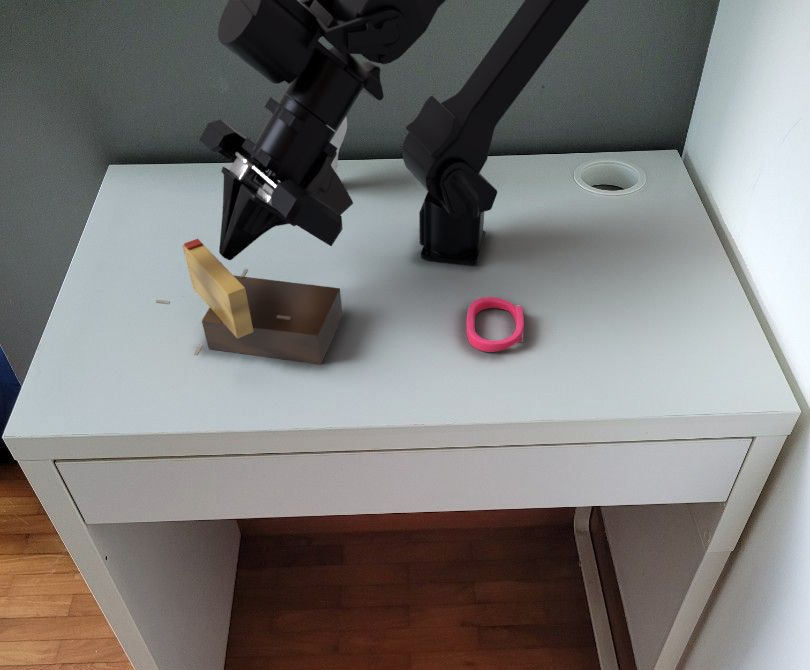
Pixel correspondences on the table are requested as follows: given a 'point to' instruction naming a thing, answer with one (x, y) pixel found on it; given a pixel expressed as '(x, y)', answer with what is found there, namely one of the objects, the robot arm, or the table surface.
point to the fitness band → (489, 344)
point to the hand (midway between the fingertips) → (224, 257)
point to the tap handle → (218, 288)
